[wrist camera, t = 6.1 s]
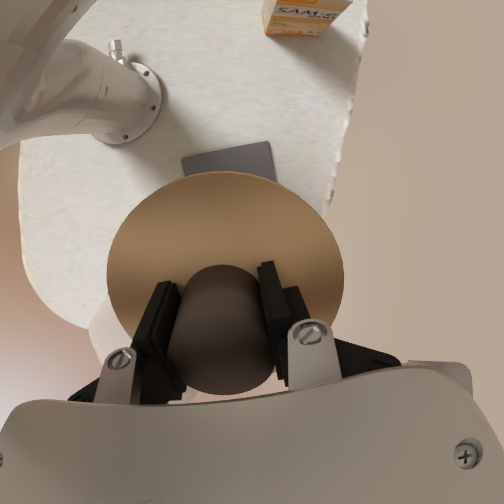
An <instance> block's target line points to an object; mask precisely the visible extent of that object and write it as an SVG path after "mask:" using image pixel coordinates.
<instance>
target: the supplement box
mask: <svg viewBox="0 0 504 504" xmlns="http://www.w3.org/2000/svg"><path fill="white" fill-rule="evenodd" d="M352 2H353V0H264V4H263V8H262V17H263V23H264V31H265V34H301V35H311V36H320V35H321V34H322V33H323V32H324V31H325V29H326V28H327V27H328V26H329V25H330V24H331V23H332V22H333V21H334V20H335V19H336V18H337V17H338V16H339V15H340V14H341V13H342V12H343V11H344V10H345V9H346V8H347V7H348V6H349V5H350V4H351V3H352Z"/></svg>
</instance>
